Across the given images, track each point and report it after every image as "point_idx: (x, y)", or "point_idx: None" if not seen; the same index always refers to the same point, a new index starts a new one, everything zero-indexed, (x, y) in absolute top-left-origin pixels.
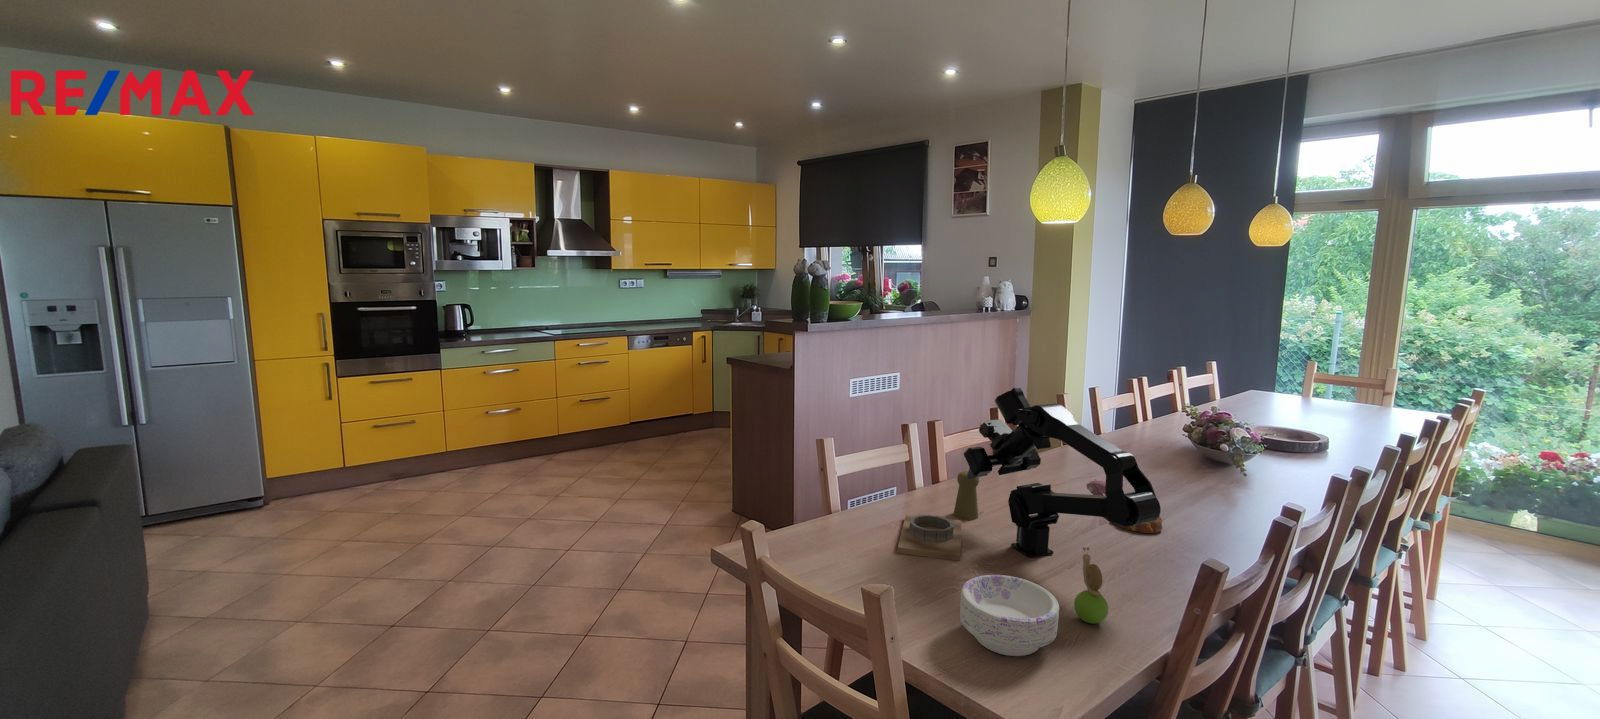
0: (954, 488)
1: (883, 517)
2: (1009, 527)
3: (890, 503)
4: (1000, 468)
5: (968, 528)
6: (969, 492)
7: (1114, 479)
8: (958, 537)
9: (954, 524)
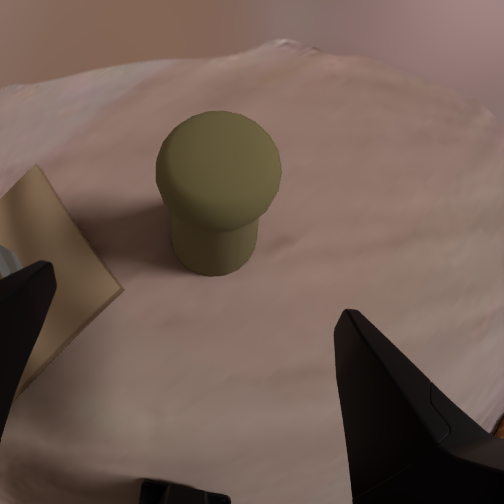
0: (349, 85)
1: (20, 139)
2: (264, 387)
3: (109, 76)
4: (356, 341)
5: (128, 321)
6: (190, 228)
7: None
8: (22, 375)
9: (76, 299)
